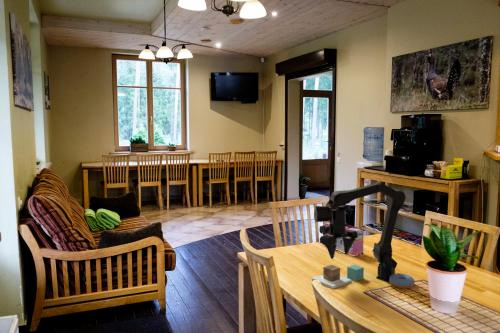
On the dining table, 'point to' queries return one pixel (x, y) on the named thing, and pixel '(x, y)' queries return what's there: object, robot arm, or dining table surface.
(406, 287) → the doughnut
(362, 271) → the teal block
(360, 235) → the gum box
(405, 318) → the dining table surface
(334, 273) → the walnut block
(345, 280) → the white square plate
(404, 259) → the dining table surface
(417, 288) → the dining table surface
